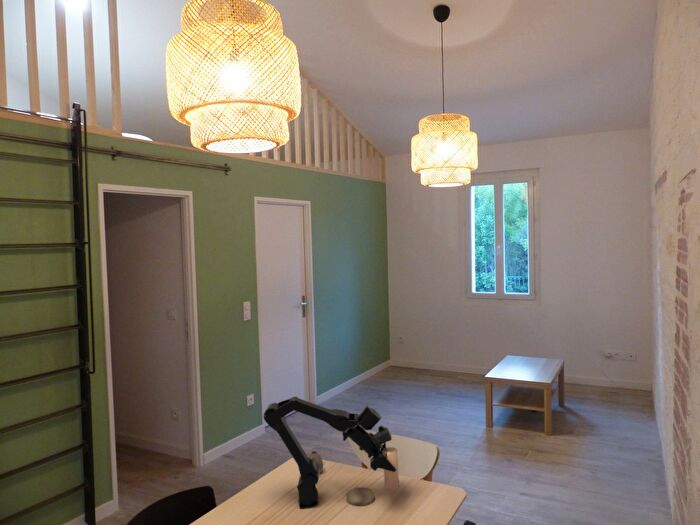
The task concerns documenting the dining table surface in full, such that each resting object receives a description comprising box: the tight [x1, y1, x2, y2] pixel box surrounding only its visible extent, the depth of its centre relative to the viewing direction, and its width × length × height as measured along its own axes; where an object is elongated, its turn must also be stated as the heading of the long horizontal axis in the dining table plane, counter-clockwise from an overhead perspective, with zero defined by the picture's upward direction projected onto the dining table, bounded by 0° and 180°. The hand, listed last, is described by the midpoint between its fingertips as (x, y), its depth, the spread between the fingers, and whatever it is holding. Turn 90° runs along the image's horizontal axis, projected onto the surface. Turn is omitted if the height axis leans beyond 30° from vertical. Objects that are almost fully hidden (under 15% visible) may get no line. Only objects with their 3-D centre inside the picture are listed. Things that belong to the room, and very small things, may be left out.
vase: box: [308, 450, 324, 474], centre depth 214 cm, size 7×7×9 cm
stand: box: [346, 486, 375, 507], centre depth 190 cm, size 10×10×2 cm
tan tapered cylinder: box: [383, 446, 400, 490], centre depth 188 cm, size 5×5×13 cm
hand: (394, 467), depth 188 cm, fingers closed on tan tapered cylinder, 5 cm apart
